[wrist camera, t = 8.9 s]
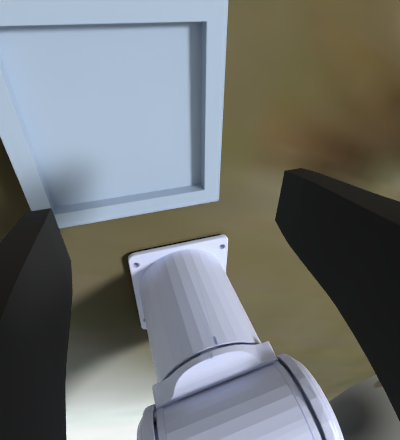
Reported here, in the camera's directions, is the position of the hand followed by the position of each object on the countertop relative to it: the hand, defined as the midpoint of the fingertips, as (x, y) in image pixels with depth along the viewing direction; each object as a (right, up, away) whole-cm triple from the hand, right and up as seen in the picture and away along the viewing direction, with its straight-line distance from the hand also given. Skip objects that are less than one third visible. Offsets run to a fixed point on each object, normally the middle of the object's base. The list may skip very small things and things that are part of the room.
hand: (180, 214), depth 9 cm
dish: (-4, +6, +7) cm, 10 cm away
